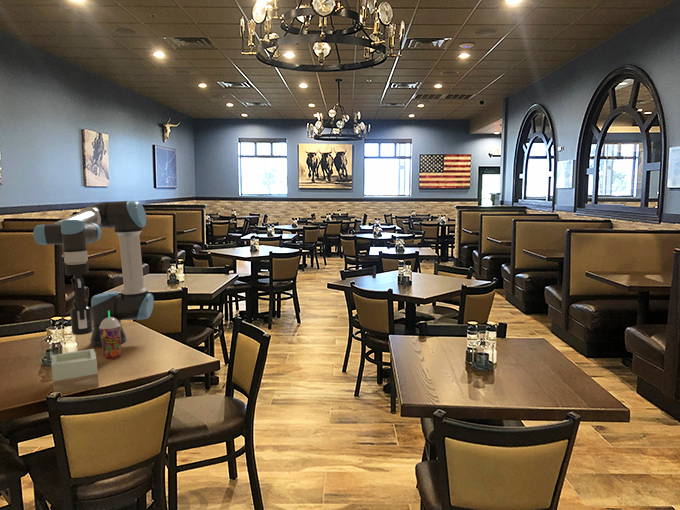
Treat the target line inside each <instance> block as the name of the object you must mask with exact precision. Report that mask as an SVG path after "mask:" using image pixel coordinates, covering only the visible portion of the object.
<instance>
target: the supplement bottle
mask: <svg viewBox="0 0 680 510" xmlns="http://www.w3.org/2000/svg"><path fill="white" fill-rule="evenodd" d="M88 305H89V299H86V298H85V306H86V309H85V310H86V319H87V328H83V329H79V326H78V316H77V311H75V309H77V300H75V299H74V300H72V306H73V308H71V309H70V325H71V333H72V335H74V336H81V335H87V334H88V335H89V334H92V332H93V318H92V308H91V306H88Z"/></svg>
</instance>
